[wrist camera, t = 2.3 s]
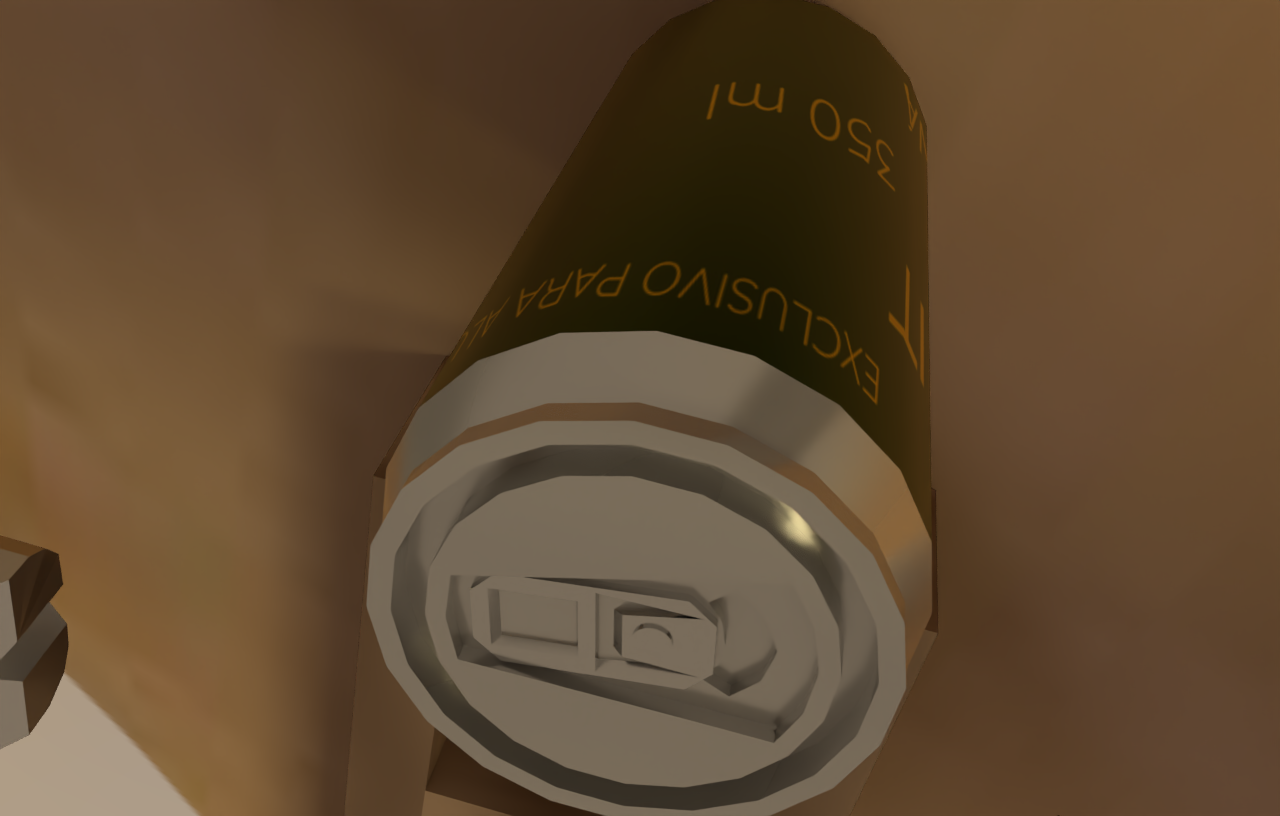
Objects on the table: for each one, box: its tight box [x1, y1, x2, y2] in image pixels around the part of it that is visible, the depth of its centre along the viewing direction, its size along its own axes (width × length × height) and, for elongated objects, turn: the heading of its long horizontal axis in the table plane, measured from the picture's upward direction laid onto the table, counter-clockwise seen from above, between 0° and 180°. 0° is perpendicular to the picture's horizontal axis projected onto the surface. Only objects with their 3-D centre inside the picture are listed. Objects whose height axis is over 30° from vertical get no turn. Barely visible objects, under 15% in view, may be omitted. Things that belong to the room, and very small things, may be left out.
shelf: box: [344, 356, 938, 816], centre depth 28 cm, size 10×18×4 cm, turn 169°
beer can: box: [366, 0, 932, 816], centre depth 16 cm, size 5×5×12 cm
